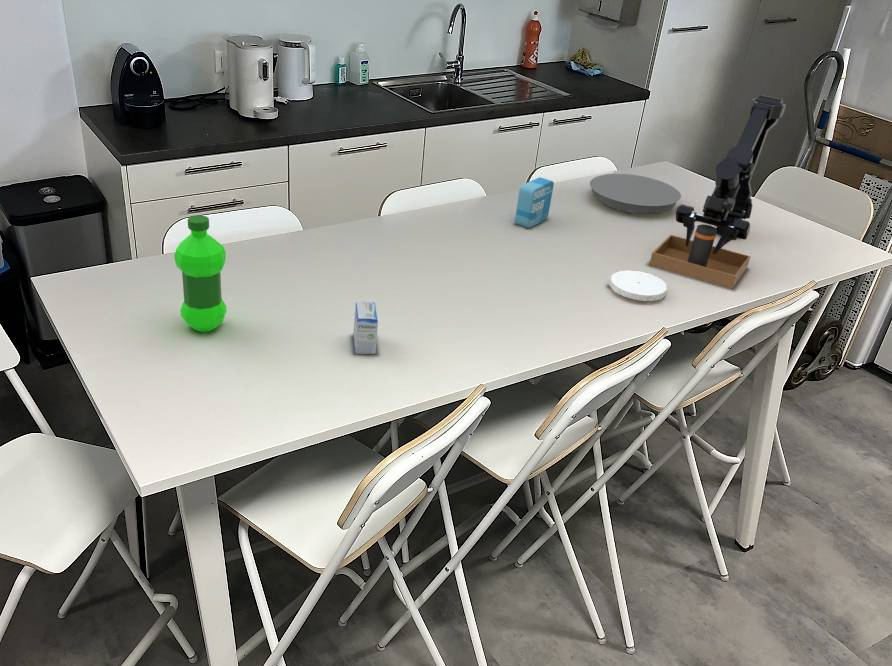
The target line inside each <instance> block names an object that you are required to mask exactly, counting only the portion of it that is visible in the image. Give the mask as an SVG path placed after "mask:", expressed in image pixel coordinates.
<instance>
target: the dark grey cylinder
mask: <svg viewBox="0 0 892 666" xmlns="http://www.w3.org/2000/svg"><path fill="white" fill-rule="evenodd" d="M716 228H717V227H716V226H714V225H710V224H698V225H697V226H696V229H695V231H694V236H693V239H692V241H693V243H692V247H691V250H690V254H689V258H688V261H687V262H689V263H693V264H696V265H700V266H703V267H706V266H707V263H708V259H709V256H710V253H711V249H712V246H714V242H715V239H716V238H717V237H716V236H717V233H716V232H717V229H716Z"/></svg>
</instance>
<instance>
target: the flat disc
mask: <svg viewBox="0 0 892 666" xmlns="http://www.w3.org/2000/svg"><path fill="white" fill-rule="evenodd" d="M589 186H590V188H591V192H592V196H593V197H594V198H595V199H597V200H598V201H600V202H602V203H603V204H604V205H606V206H608V207H609V208H612V209H616V210H617V209H618V210H620V211H623V212H625V213H633V214H634V213H635V214H643V213H650V214H654V213H658V214H659V213H664V212H668V211H671V210H672V209H673V208H674V207H675V205H676V204H677V203H678V202H679V201H680V200H681V198H682V195H681V192H680V191H679V190H678V189H677V188H675V187H674V186H673V185H671V184H669V183H667V182H664V181H661V180H659V179H657V178H656V179H655V178H652V177H647V176H643V175H638V174H630V173H629V174H628V173H608V174H607V173H606V174H601V175H597V176H595V177H593V178H592V179H590V181H589Z"/></svg>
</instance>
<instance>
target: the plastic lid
mask: <svg viewBox="0 0 892 666" xmlns="http://www.w3.org/2000/svg"><path fill="white" fill-rule="evenodd" d="M608 285H609V287H610V289H611V290H612V291H613V292H615V294H618V295H619V296H621V297H622V296H623V297H625V298H628V299H631V300H636V301H643V302H652V301H658V300H661V299H663V298H665V297H666V294H667V291H668V284H667V283H666V282H665V281H664V280H663V279H661V278H660V277H658V276H656V275H655V274H654V275H653V274H651V273H648V272H643V271H639V270H631V269H627V270H619V271H617V272H614V273H612V274H611V275H610V277H609V283H608Z"/></svg>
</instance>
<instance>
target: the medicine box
mask: <svg viewBox="0 0 892 666" xmlns="http://www.w3.org/2000/svg"><path fill="white" fill-rule="evenodd" d="M353 320H354V321H353V332H352V333H353V334H352V336H353V345H354V353H355V354H357V355H375V354H376V351H377V340H378V326H379V320H378V313H377V306H376V302H374V301H355V304H354V318H353Z"/></svg>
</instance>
